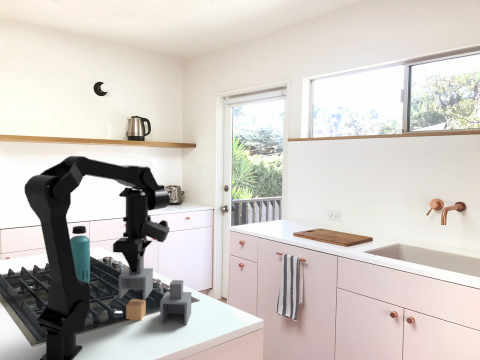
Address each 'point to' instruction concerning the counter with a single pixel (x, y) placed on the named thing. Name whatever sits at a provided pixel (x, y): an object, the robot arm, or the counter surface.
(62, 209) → the robot arm
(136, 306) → the brown cube
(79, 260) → the beverage bottle
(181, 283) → the cover
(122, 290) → the cover
